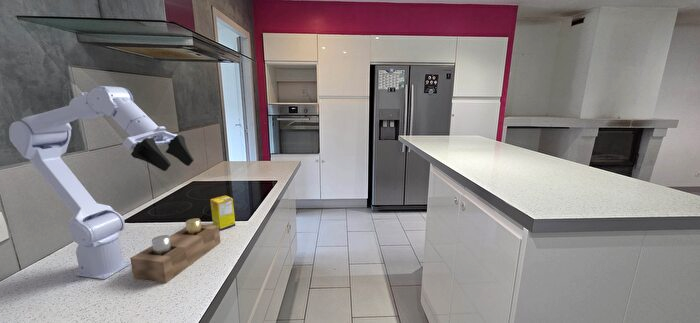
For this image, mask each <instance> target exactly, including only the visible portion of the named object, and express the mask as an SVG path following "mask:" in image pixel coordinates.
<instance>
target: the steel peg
mask: <svg viewBox="0 0 700 323" xmlns="http://www.w3.org/2000/svg"><path fill="white" fill-rule="evenodd" d="M169 236H170V235H168V234H164V235H158V236H155V237H153V238H152V239H151V243H152V245H151V246H153V251H154V255H159V256H163V255H165V254H167V253H168V252H170V251H171V244H170V237H169Z"/></svg>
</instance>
